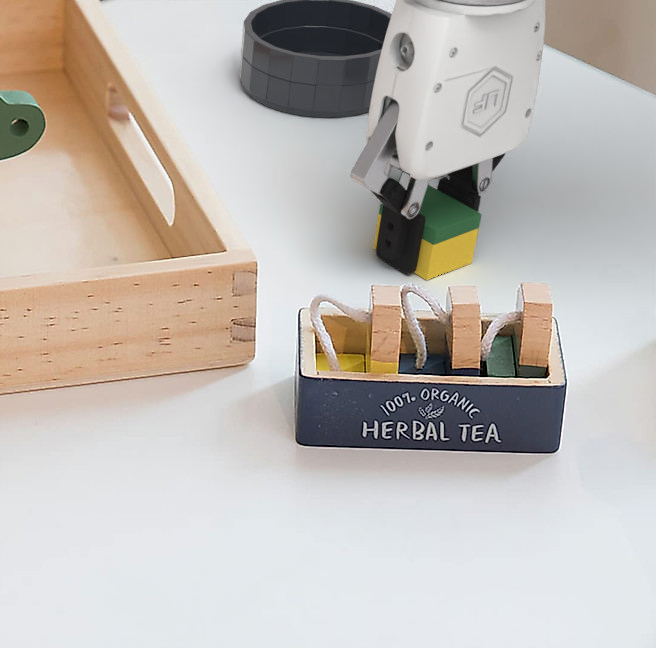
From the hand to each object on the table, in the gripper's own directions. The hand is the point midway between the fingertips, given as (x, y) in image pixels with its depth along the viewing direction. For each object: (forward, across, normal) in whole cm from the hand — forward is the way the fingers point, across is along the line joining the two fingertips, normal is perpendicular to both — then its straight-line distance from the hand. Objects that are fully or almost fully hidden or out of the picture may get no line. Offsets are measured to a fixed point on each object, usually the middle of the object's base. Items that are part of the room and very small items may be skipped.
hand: (422, 251), depth 99 cm
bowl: (0, +12, +24) cm, 27 cm away
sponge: (0, 0, 0) cm, 0 cm away
